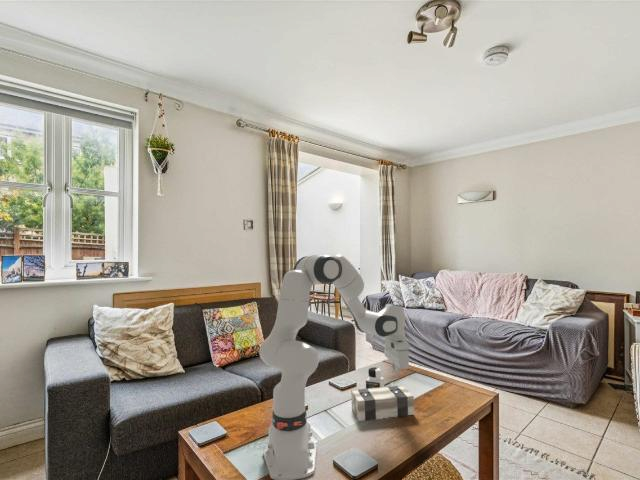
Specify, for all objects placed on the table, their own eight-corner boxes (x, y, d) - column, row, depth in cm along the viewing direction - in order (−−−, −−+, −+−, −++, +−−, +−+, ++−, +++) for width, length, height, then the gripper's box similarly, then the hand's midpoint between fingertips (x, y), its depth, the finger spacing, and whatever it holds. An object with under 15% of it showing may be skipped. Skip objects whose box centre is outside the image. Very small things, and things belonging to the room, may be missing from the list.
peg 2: (403, 409, 147) (403, 393, 147) (394, 410, 146) (394, 393, 147) (400, 405, 151) (399, 389, 151) (391, 406, 150) (390, 390, 151)
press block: (414, 415, 143) (413, 396, 144) (358, 421, 140) (358, 401, 140) (403, 403, 155) (402, 385, 156) (351, 408, 152) (351, 389, 152)
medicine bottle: (366, 395, 165) (365, 369, 166) (370, 389, 172) (370, 365, 172) (380, 397, 162) (379, 371, 162) (384, 391, 168) (383, 367, 169)
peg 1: (372, 412, 145) (371, 395, 145) (363, 413, 144) (362, 396, 145) (369, 408, 149) (369, 392, 149) (360, 409, 148) (360, 393, 148)
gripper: (380, 335, 159) (381, 365, 159) (396, 347, 139) (397, 381, 138) (393, 335, 160) (394, 365, 160) (411, 346, 140) (412, 380, 139)
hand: (395, 372), depth 149 cm, fingers closed
